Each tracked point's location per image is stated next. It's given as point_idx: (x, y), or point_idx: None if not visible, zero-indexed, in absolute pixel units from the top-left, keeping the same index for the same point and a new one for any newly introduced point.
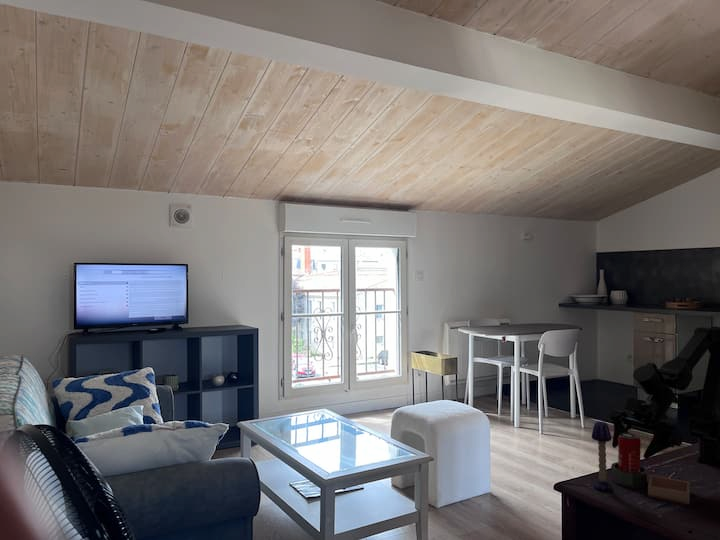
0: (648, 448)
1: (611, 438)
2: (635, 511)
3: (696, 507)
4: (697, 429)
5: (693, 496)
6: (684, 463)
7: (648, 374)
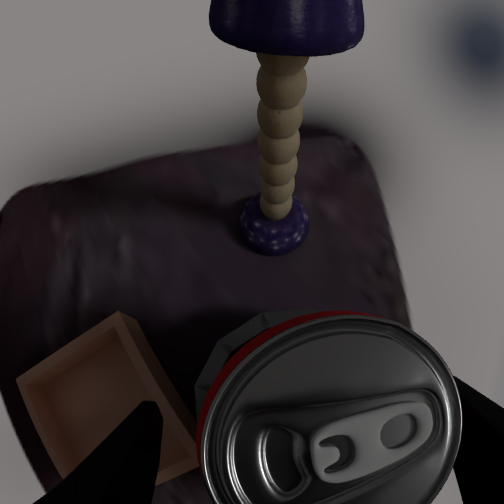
0: (111, 449)
1: (217, 30)
2: (104, 184)
3: None
4: None
5: None
6: None
7: None
